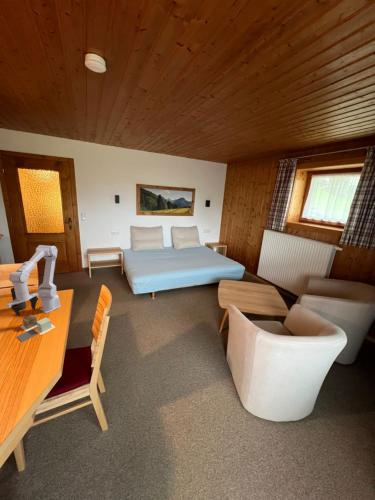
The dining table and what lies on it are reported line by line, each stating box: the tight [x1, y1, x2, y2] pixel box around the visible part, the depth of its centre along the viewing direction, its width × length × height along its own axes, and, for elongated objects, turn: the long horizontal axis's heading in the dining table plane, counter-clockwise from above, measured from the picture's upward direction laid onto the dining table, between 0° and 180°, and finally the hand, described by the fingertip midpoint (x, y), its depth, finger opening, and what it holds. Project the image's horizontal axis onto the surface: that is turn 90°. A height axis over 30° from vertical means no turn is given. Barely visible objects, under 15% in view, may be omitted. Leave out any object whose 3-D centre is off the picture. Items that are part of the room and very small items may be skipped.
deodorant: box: [10, 286, 27, 312], centre depth 132 cm, size 6×6×15 cm
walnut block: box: [22, 314, 38, 329], centre depth 117 cm, size 5×5×5 cm
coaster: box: [16, 329, 38, 343], centre depth 110 cm, size 7×7×1 cm
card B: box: [33, 323, 56, 335], centre depth 116 cm, size 8×8×1 cm
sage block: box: [36, 317, 52, 332], centre depth 116 cm, size 5×5×5 cm
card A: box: [19, 324, 38, 332], centre depth 118 cm, size 8×8×1 cm
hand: (26, 312), depth 115 cm, fingers open, 7 cm apart
